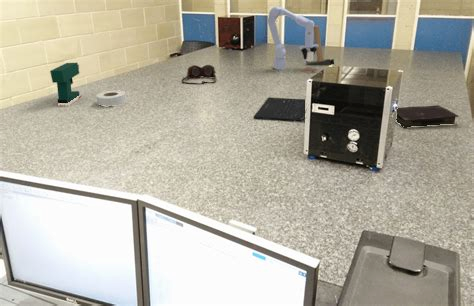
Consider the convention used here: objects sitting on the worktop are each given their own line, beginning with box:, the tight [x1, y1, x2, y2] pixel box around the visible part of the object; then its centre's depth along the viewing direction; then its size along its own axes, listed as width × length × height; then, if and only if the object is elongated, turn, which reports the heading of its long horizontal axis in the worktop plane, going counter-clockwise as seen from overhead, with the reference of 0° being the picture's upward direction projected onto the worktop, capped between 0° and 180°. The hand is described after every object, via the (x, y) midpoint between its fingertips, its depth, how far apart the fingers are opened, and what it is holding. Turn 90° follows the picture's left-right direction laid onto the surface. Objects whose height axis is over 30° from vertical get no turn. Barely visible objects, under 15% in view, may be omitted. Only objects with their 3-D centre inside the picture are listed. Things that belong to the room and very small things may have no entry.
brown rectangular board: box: [296, 66, 321, 75], centre depth 284 cm, size 18×12×4 cm, turn 23°
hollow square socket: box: [303, 50, 315, 62], centre depth 282 cm, size 5×5×6 cm
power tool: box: [49, 62, 81, 104], centre depth 236 cm, size 32×7×20 cm, turn 178°
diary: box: [396, 104, 460, 129], centre depth 187 cm, size 19×25×5 cm
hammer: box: [305, 25, 335, 67], centre depth 295 cm, size 20×5×30 cm, turn 79°
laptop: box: [253, 97, 306, 122], centre depth 202 cm, size 33×38×19 cm
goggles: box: [181, 64, 217, 85], centre depth 270 cm, size 24×24×10 cm
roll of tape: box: [96, 90, 127, 106], centre depth 228 cm, size 16×16×6 cm
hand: (308, 58), depth 283 cm, fingers closed on hollow square socket, 5 cm apart
